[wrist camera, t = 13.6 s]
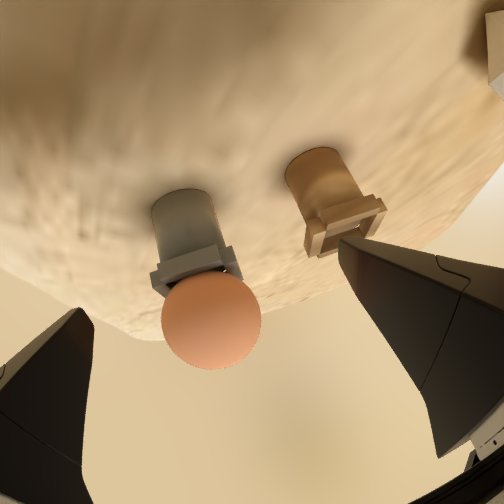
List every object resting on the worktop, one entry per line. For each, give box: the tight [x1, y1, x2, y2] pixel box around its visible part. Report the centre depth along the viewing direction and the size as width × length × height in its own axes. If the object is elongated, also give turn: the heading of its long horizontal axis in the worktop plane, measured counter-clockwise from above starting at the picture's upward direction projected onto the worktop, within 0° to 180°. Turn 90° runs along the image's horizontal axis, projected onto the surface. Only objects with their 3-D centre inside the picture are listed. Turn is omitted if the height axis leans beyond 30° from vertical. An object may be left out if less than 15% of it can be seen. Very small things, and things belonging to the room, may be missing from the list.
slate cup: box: [150, 189, 244, 298], centre depth 21 cm, size 5×5×6 cm
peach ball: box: [161, 270, 261, 370], centre depth 19 cm, size 6×6×6 cm
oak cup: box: [285, 147, 388, 259], centre depth 21 cm, size 5×5×6 cm
